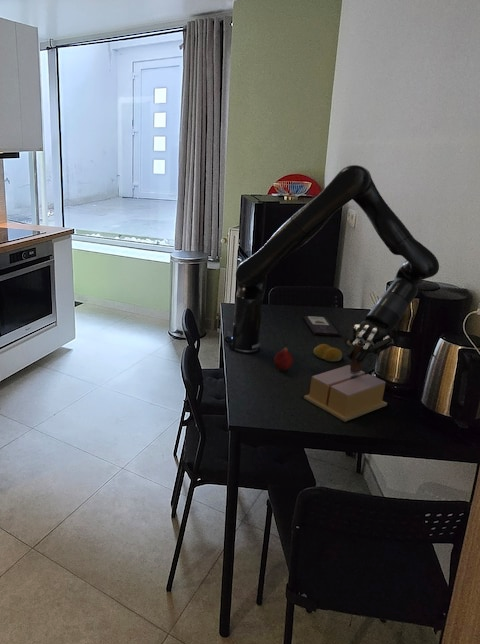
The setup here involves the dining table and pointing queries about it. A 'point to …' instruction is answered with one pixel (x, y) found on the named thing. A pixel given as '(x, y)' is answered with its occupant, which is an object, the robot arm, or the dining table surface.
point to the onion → (283, 359)
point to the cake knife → (354, 365)
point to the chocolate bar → (321, 326)
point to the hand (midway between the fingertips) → (352, 359)
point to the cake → (346, 393)
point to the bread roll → (328, 353)
